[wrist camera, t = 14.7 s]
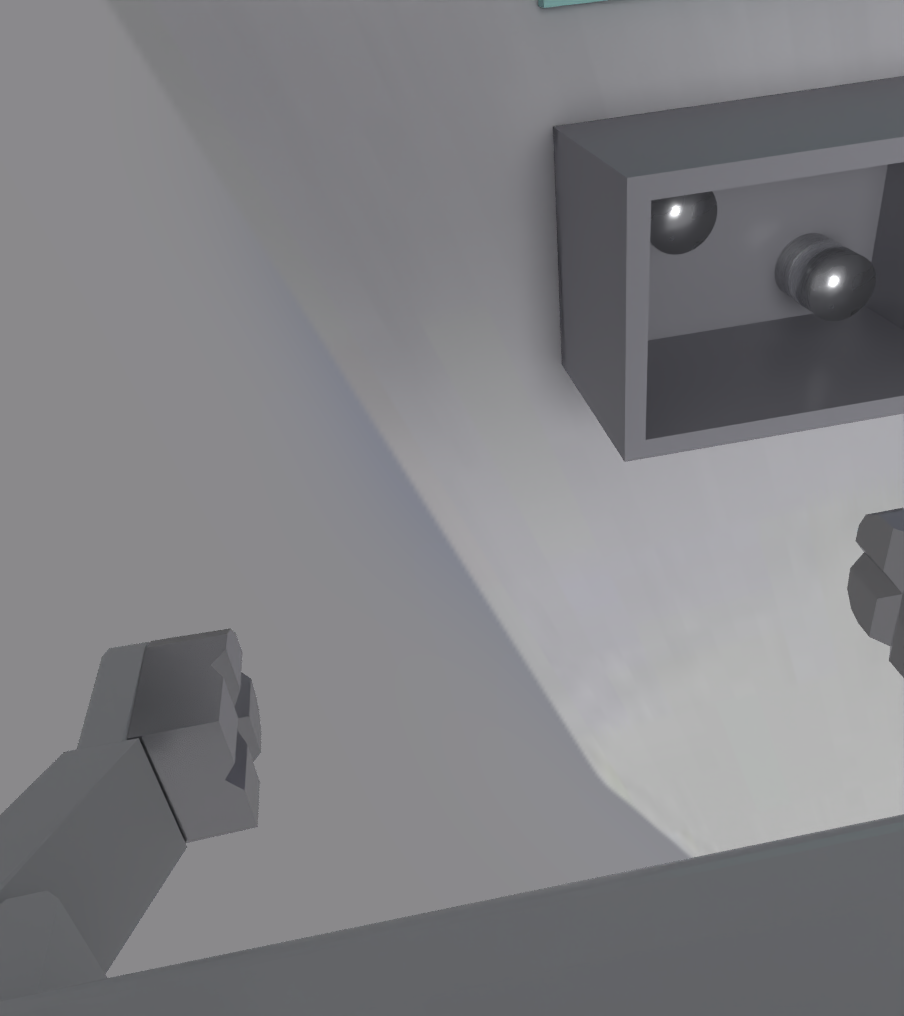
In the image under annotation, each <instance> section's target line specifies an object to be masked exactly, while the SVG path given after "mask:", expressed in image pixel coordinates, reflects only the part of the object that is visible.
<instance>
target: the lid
mask: <svg viewBox="0 0 904 1016" xmlns="http://www.w3.org/2000/svg"><path fill="white" fill-rule="evenodd" d="M597 1H606V0H538V5H539V6H540V7H543V8H547V7H555V6H564V5H572V4H580V3H589V2H597Z"/></svg>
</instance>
